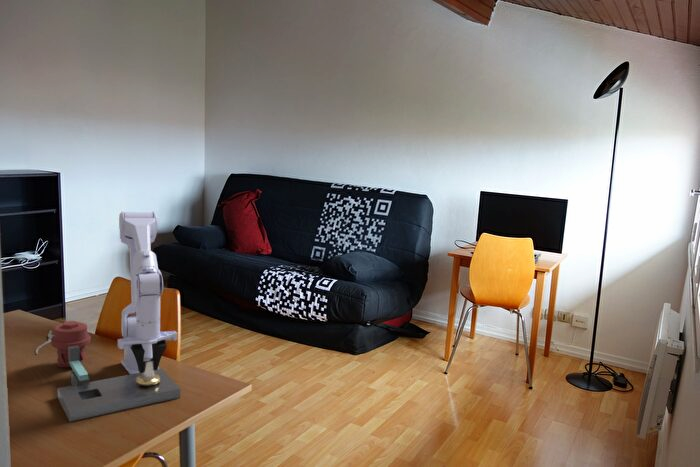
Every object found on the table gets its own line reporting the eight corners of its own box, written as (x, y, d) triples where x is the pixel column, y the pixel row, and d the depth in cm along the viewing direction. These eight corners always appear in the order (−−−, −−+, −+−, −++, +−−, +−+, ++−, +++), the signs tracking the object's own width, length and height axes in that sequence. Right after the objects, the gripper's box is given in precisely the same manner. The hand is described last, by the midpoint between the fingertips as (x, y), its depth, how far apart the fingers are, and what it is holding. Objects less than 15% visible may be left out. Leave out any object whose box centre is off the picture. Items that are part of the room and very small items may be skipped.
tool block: (52, 386, 152) (51, 374, 152) (153, 367, 168) (153, 356, 167) (69, 422, 136) (69, 408, 135) (180, 397, 151) (180, 385, 151)
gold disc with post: (132, 387, 154) (132, 357, 152) (155, 382, 157) (156, 353, 156) (139, 396, 149) (139, 366, 147) (163, 391, 152) (163, 361, 151)
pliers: (37, 355, 170) (26, 333, 186) (37, 358, 170) (26, 336, 186) (73, 350, 175) (60, 329, 191) (73, 352, 176) (60, 331, 191)
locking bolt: (68, 363, 158) (68, 346, 157) (78, 362, 160) (77, 345, 159) (78, 381, 149) (78, 362, 148) (89, 379, 150) (88, 360, 149)
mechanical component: (76, 355, 173) (98, 364, 168) (43, 366, 164) (66, 375, 159) (75, 314, 171) (98, 322, 166) (42, 323, 162) (65, 331, 157)
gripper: (123, 328, 142) (123, 381, 145) (182, 320, 151) (181, 370, 153) (115, 319, 148) (115, 371, 150) (172, 312, 156) (171, 360, 159)
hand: (148, 370), depth 152 cm, fingers closed on gold disc with post, 3 cm apart
